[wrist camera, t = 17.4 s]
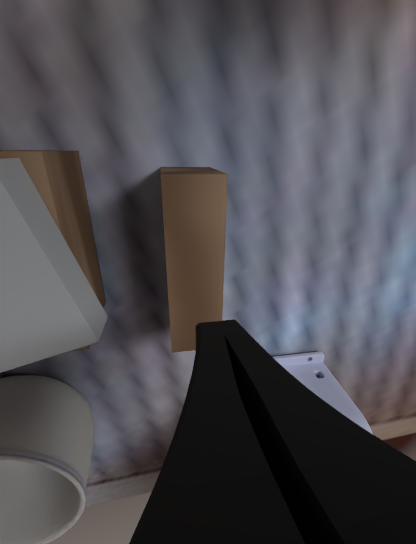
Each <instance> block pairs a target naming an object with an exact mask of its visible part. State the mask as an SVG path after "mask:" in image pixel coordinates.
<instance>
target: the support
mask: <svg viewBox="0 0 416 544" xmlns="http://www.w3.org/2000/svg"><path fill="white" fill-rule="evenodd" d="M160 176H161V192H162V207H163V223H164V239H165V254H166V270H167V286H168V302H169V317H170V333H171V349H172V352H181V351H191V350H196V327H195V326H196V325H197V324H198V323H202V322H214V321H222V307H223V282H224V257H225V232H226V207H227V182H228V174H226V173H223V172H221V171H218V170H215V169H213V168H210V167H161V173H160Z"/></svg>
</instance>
